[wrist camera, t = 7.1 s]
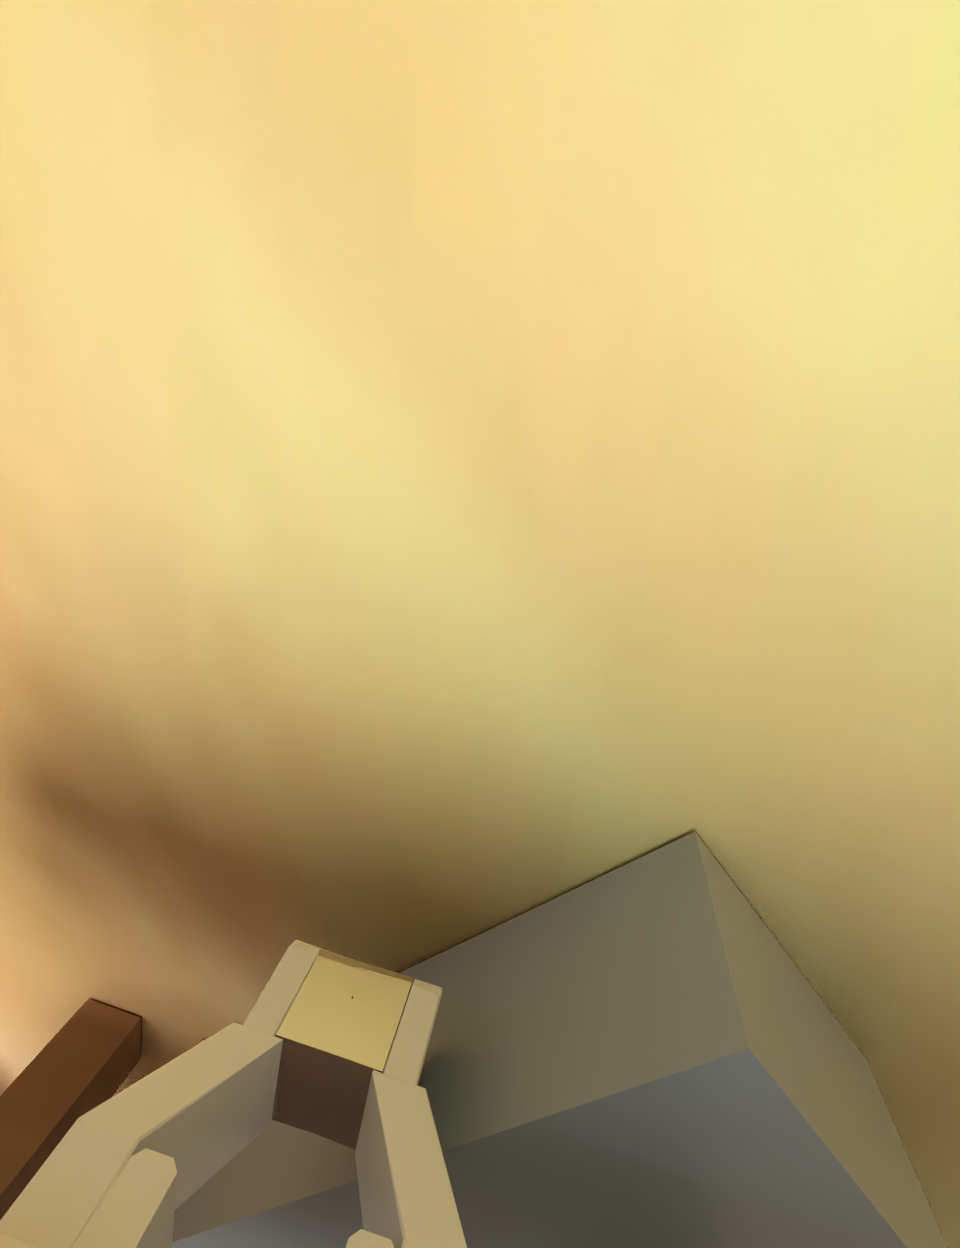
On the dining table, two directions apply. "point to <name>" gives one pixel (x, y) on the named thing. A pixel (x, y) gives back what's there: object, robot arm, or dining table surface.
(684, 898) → the slab
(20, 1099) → the bench
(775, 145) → the dining table surface
